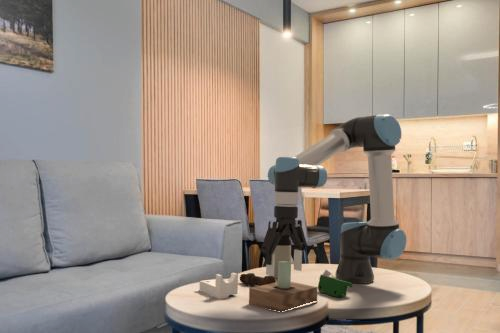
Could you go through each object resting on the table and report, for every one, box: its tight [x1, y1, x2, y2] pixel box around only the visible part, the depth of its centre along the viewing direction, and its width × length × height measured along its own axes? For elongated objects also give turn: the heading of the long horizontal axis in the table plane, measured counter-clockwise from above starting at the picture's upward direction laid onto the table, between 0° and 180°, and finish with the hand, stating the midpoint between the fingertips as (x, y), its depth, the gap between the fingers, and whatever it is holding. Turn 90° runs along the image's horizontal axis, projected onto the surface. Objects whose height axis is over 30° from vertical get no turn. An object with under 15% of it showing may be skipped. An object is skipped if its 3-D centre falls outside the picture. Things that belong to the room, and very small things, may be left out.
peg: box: [277, 261, 292, 290], centre depth 152 cm, size 4×4×12 cm
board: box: [248, 281, 318, 312], centre depth 152 cm, size 18×13×5 cm
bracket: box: [198, 272, 239, 299], centre depth 163 cm, size 13×7×8 cm, turn 36°
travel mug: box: [273, 235, 292, 280], centre depth 194 cm, size 8×8×18 cm
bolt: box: [239, 272, 276, 286], centre depth 176 cm, size 6×5×15 cm
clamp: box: [317, 274, 353, 298], centre depth 167 cm, size 12×6×9 cm, turn 21°
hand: (284, 272), depth 152 cm, fingers open, 13 cm apart
